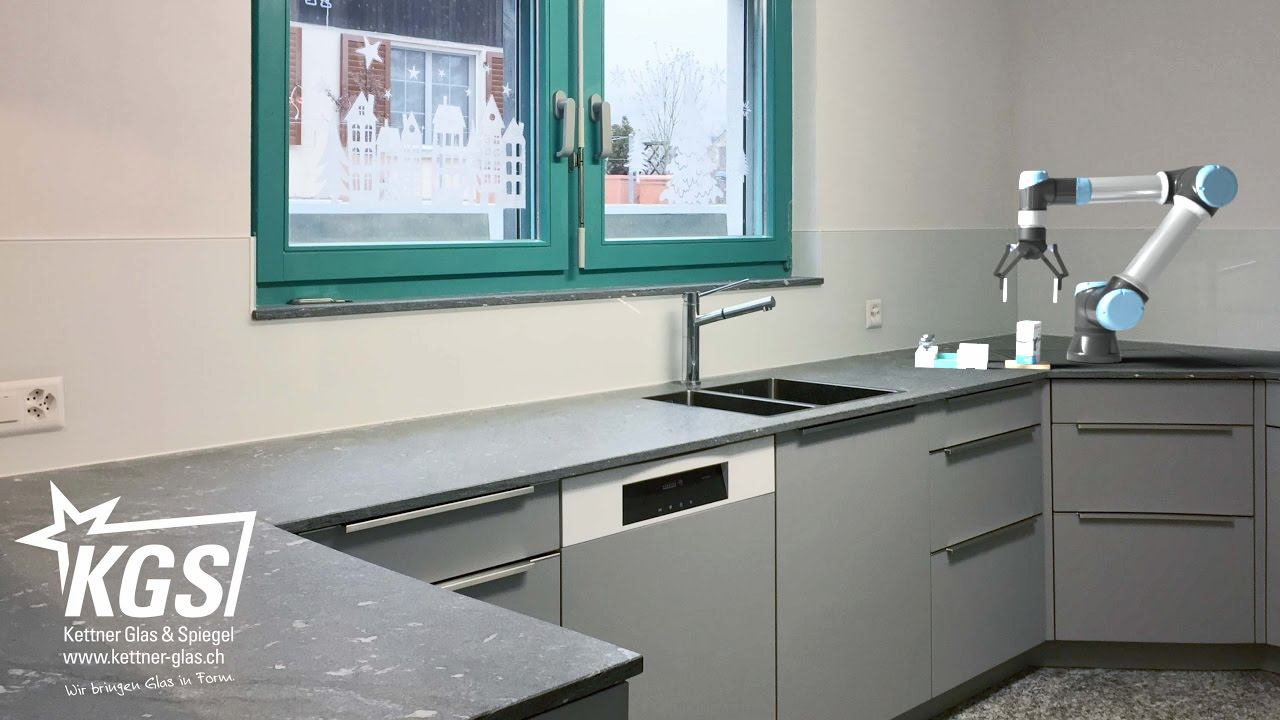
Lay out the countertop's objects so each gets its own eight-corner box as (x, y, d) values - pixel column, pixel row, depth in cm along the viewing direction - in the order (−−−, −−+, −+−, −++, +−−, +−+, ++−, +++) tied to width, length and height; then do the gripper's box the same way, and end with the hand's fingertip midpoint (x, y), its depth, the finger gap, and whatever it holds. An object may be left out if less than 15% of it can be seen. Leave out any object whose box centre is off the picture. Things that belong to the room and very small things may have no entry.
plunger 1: (934, 357, 358) (935, 334, 358) (933, 358, 355) (934, 335, 354) (921, 357, 359) (922, 333, 359) (921, 358, 356) (921, 334, 355)
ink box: (1032, 365, 339) (1034, 323, 338) (1014, 363, 342) (1016, 322, 341) (1040, 361, 346) (1042, 321, 345) (1023, 360, 349) (1024, 320, 348)
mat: (1048, 365, 347) (1049, 361, 347) (1049, 369, 338) (1050, 365, 338) (1005, 363, 351) (1005, 360, 351) (1005, 367, 341) (1005, 364, 341)
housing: (987, 361, 357) (988, 344, 356) (986, 369, 339) (986, 351, 338) (920, 359, 362) (920, 342, 362) (915, 366, 344) (915, 349, 344)
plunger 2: (932, 361, 349) (932, 337, 348) (931, 363, 346) (932, 338, 345) (919, 361, 350) (920, 337, 349) (918, 362, 347) (919, 338, 346)
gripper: (1078, 226, 340) (1075, 301, 342) (986, 226, 347) (984, 300, 349) (1080, 226, 332) (1077, 303, 335) (985, 226, 340) (983, 302, 342)
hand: (1029, 301), depth 342 cm, fingers open, 13 cm apart
